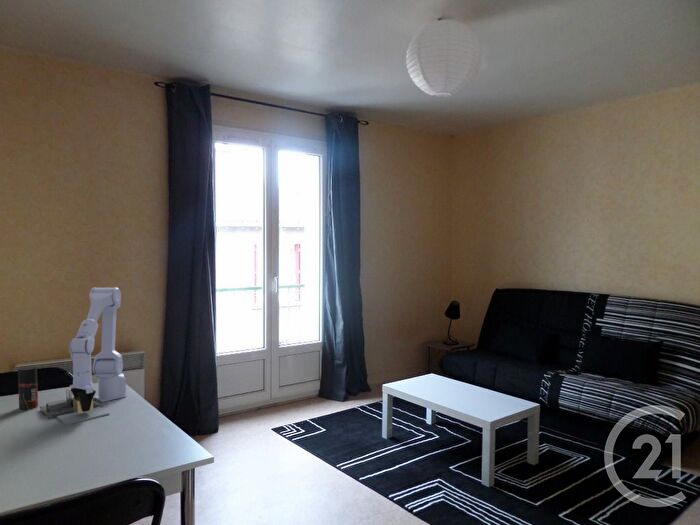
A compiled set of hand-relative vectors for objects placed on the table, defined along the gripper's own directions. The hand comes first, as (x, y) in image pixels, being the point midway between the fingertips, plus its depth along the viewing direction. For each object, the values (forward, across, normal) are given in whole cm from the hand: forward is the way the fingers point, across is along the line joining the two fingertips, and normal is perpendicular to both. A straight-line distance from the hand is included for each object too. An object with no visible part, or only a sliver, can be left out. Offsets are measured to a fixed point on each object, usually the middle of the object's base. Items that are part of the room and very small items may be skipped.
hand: (83, 409), depth 174 cm
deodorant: (+3, -25, -11) cm, 27 cm away
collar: (0, 0, 0) cm, 0 cm away
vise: (+3, -12, -1) cm, 12 cm away
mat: (+3, 0, 0) cm, 3 cm away
